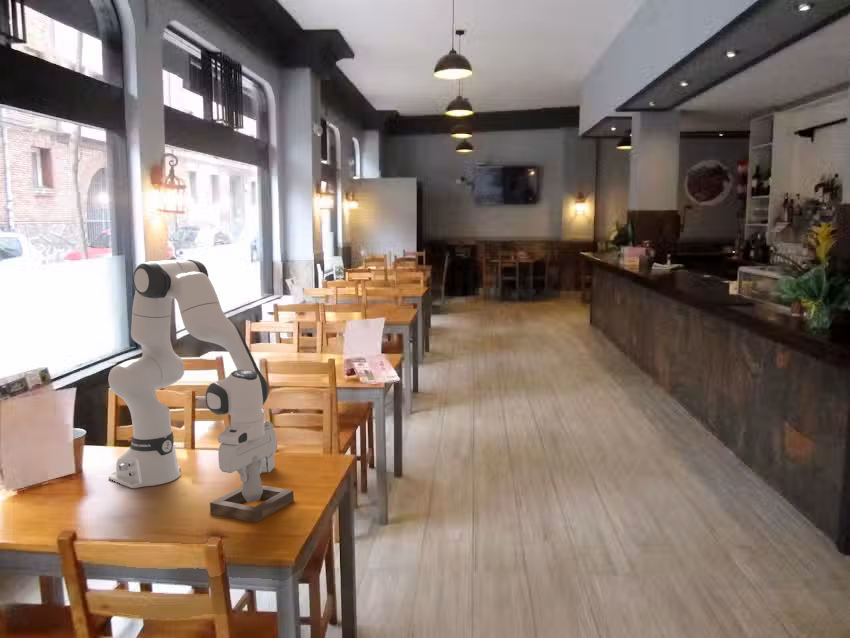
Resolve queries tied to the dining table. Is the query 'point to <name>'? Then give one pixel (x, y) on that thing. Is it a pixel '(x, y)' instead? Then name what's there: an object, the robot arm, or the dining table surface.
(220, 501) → the walnut socket
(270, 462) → the syrup box
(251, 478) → the salt shaker
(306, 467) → the dining table surface
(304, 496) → the dining table surface
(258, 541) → the dining table surface
